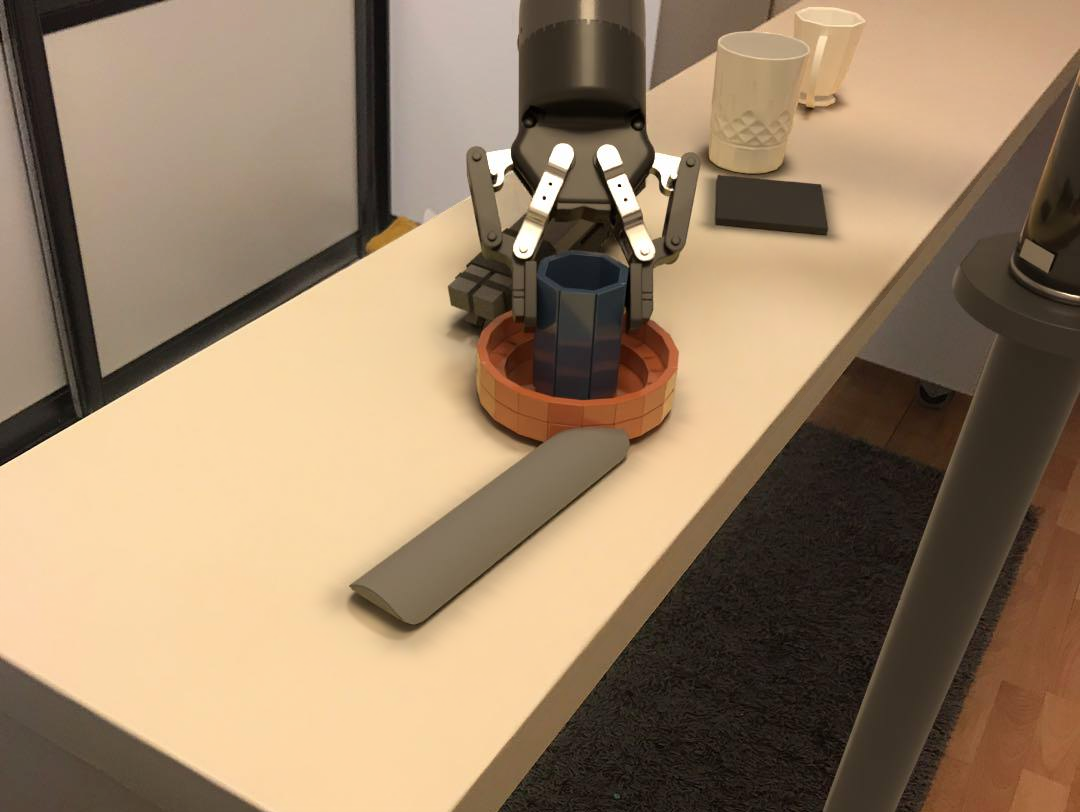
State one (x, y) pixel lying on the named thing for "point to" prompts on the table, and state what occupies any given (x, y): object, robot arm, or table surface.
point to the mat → (770, 204)
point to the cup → (826, 50)
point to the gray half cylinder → (490, 523)
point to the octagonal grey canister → (579, 325)
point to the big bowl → (542, 416)
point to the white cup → (755, 99)
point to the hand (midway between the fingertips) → (582, 329)
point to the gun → (491, 281)
